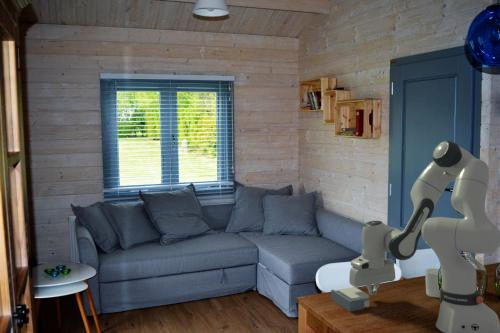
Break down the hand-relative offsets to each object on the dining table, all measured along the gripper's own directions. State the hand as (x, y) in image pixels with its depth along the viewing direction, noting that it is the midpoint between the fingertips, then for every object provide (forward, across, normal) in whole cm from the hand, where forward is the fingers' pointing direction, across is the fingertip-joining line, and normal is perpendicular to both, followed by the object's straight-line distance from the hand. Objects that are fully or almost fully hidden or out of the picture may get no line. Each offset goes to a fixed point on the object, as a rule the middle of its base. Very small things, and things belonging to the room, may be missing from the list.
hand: (372, 294), depth 201 cm
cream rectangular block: (+3, +10, +1) cm, 10 cm away
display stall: (+2, +12, 0) cm, 12 cm away
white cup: (+3, -26, +6) cm, 27 cm away
